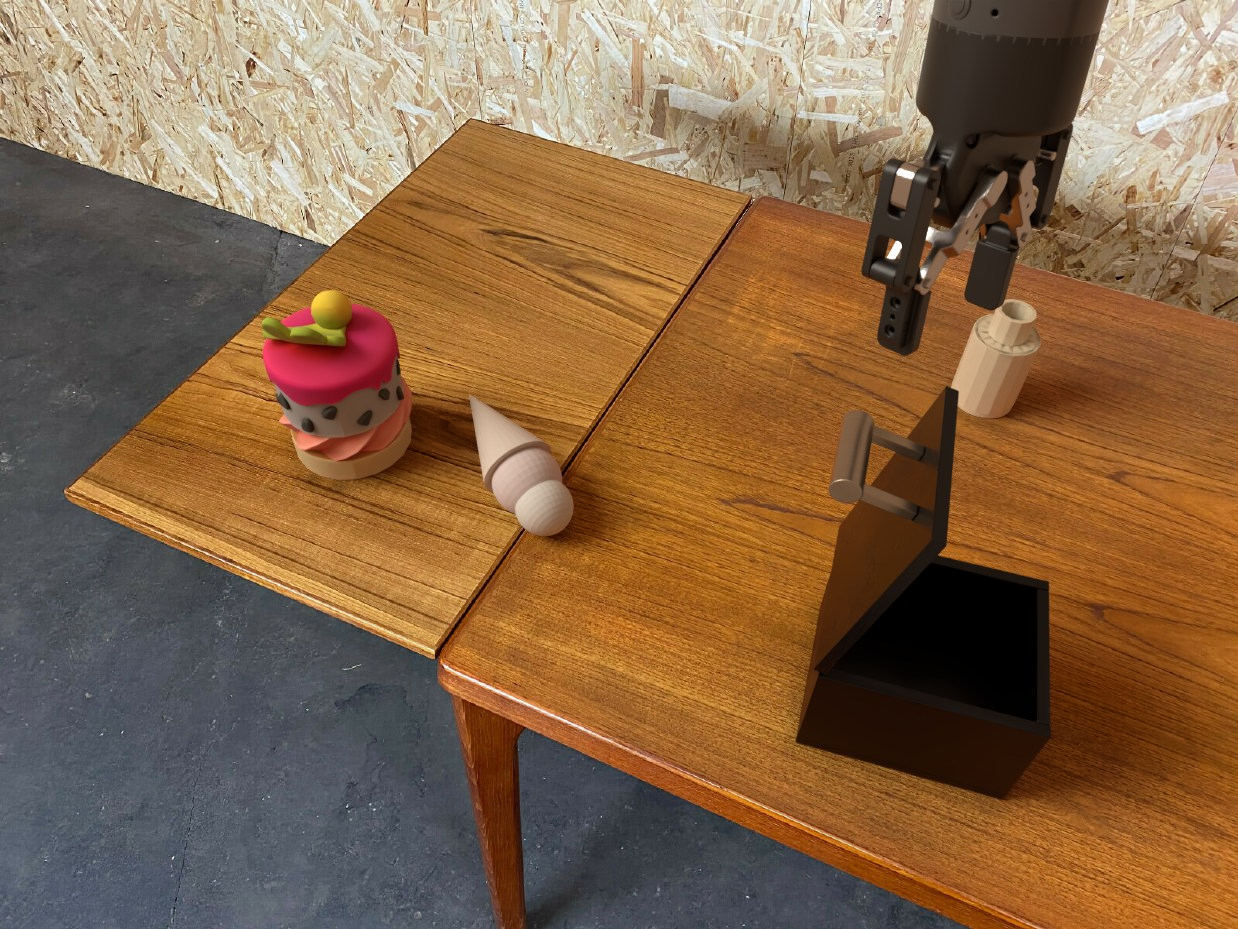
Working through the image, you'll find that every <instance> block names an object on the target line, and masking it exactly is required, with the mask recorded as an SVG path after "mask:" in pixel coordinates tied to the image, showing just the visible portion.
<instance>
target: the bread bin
mask: <svg viewBox="0 0 1238 929" xmlns="http://www.w3.org/2000/svg"><path fill="white" fill-rule="evenodd" d="M830 575H831V572H830V574H829V577H828V580H827V583H826V586H825V590H824V593H823V596H822V599H821V601H820V606H819V612H818V616H817V622H816V627H815V633H814V638H813V639H814V640H813V643H812V649H811V655H810V660H809V664H808V671H807V675H806V676H807V677H806V682H805V686H804V693H803V698H802V702H801V703H802V704H801V710H800V715H799V719H798V724H797V730H796V735H795V743H796V744H800V745H804V746H807V747H811V748H815V749H818V750H822V751H826V752H829V753H832V754H836V755H840V756H843V757H847V758H850V759H853V760H854V759H855V760H858V761H862V762H865V763H869V764H872V765H876V766H879V767H883V768H886V769H890V770H893V771H897V772H900V773H905V774H908V775H912V776H915V777H919V778H923V779H926V780H930V781H933V782H937V783H940V784H945V785H947V786H952V787H955V788H959V789H962V790H965V791H969V792H973V793H977V794H980V795H983V796H987V797H991V798H994V799H998V800H1004V799H1005V798H1006V796H1007V795H1008V794H1009V793H1010V792H1011V791H1012V789H1013V788H1014V786H1015V785H1016V784H1017V783H1018V781H1019V780H1020V778H1021V777H1022V776H1023V775H1024V774H1025V772H1026V771H1027V769H1029V768H1030V766H1031V765H1032V763H1033V762H1034V761H1035V759H1036V758H1037V756H1038V755H1039V754H1040V753H1041V752H1042V750H1043V749H1044V747H1045V746H1046V745H1047V743H1048V742H1049V741H1050V739H1051V738H1052V726H1051V658H1050V657H1051V649H1050V648H1051V643H1050V640H1051V639H1050V638H1051V637H1050V634H1051V633H1050V631H1051V630H1050V581H1048V580H1044V579H1040V578H1035V577H1032V576H1027V575H1023V574H1020V573H1019V574H1018V573H1015V572H1010V571H1006V570H1002V569H997V568H993V567H988V566H985V565H981V564H978V563H977V564H976V563H972V562H968V561H964V560H961V559H956V558H951V557H948V556H942V555H940V554H939V555H938V556H937V557H936V558H935V559H934V560H933V561H932V562H931V563H930V564H929V565H928V566H927V567H926V568H925V569H924V571H923V572H922V573H921V574H920V575H919V576H918V577H917V578H916V579H915V580H914V581H913V582H912V583H911V584H910V585H909V586H908V587H907V588H906V590H905V591H904V592H903V593H902V594H901V595H900V596H899V597H898V598H897V599H896V600H895V601H894V602H893V603H892V604H891V605H890V606H889V608H888V609H887V610H886V611H885V612H884V613H883V614H882V615H881V616H880V617H879V618H878V619H877V620H876V621H875V622H874V623H873V624H872V626H871V627H870V628H869V629H868V630H867V631H866V632H865V633H864V634H863V635H862V636H861V637H860V638H859V639H858V640H857V641H856V642H855V643H854V645H853V646H852V647H851V648H850V649H849V650H848V651H847V652H846V653H845V654H844V655H843V656H842V657H841V658H840V659H839V660H838V661H837V663H836V664H835V665H834V666H833V667H832V668H831V669H830V670H829V671H828V672H827V673H826V674H823V673H821V672H818V671H816V670H814V664H815V658H816V653H817V647H818V641H819V636H820V630H821V625H822V619H823V614H824V608H825V603H826V597H827V591H828V586H829V580H830Z"/></svg>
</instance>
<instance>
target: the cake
mask: <svg viewBox="0 0 1238 929" xmlns="http://www.w3.org/2000/svg"><path fill="white" fill-rule="evenodd" d="M261 329H262V337H263V338H264V339H265V341H264V345H263V348H262V360H263V364H264V367H265V371H266V374H267V377H268V381H269V382H270V383H273V385H274V389H275V391H276V392H275V395H274V396H275V399H276V401H277V403H278V404H279V405H280V407H281V409H282V411H283V412H282V413H283V414H282V416H281V417H280V419H279V421H278V423H279V424H280V425H282V426H284V427H286V428H288V429H289V430H290V434H291V439H292V442H293V445H294V448H295V452H296V454H297V457H298V459H299V460H300V462H301V463H302V464H303V465H304V467H305V468H306V469H307V470H309V471H311V472H312V473H314V474H316V475H318V476H319V477H323V478H327V479H331V480H337V481H344V480H345V481H346V480H348V481H349V480H351V481H352V480H360V479H363V478H367V477H370V476H376V475H377V474H379V473H381V472H382V471H385V470H386V469H388V468H390V467H392V466H394V464H395V463H396V462H397V461H399V459H401V458H402V457H403V456H404V455H405V454H406V451H407V449H408V447H409V446H410V444H411V441H412V432H413V428H412V422H411V417H410V416H411V412H412V408H413V407H412V406H413V391H412V389H411V388H410V386H409V385H408V383H407V381H406V379H405V378H404V377H403V376H402V370H401V365H400V364H401V363H400V361H399V360H400V359H401V352H400V347H399V342H398V338H397V334H396V331H395V328H394V327H393V325H392V324H391V322H390V321H389V319H388V318H387V317H385V316H384V315H383V314H382V313H380V312H379V311H377V310H376V309H373V308H371V307H368V306H365V305H361V304H358V303H351V301H350V299H349V297H348V296H347V295H345V294H344V293H343V292H341V291H338V290H334V289H331V290H323V291H321V292H320V293H317V295H316V296H315V297H314V299H313V300H312V301H311V306H309V307H305V308H303V309H300V310H298V311H296V312H294V313H292V314H290V315H288V316H286V318H284V319H283V320H281V321H279V320H278V319H276V318H274V317H271V316H270V317H268V316H267V317H265V318H264V319H263V320H262V321H261Z"/></svg>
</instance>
